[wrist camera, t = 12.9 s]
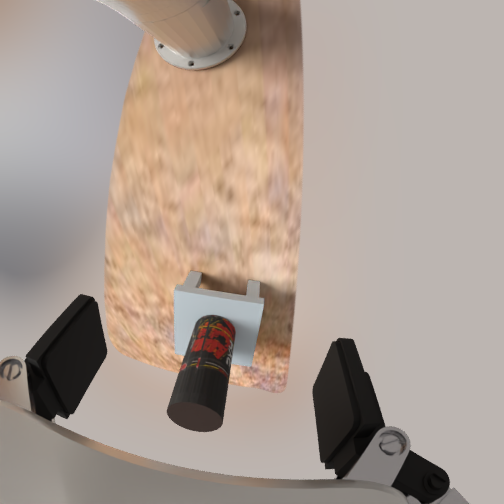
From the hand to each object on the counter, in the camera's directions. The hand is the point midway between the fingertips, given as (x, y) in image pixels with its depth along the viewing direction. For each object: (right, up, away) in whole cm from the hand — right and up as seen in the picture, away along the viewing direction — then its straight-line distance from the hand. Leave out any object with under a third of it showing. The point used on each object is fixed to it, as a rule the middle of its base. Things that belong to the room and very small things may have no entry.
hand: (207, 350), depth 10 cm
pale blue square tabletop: (-3, -5, +35) cm, 36 cm away
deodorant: (-4, -7, +29) cm, 30 cm away
